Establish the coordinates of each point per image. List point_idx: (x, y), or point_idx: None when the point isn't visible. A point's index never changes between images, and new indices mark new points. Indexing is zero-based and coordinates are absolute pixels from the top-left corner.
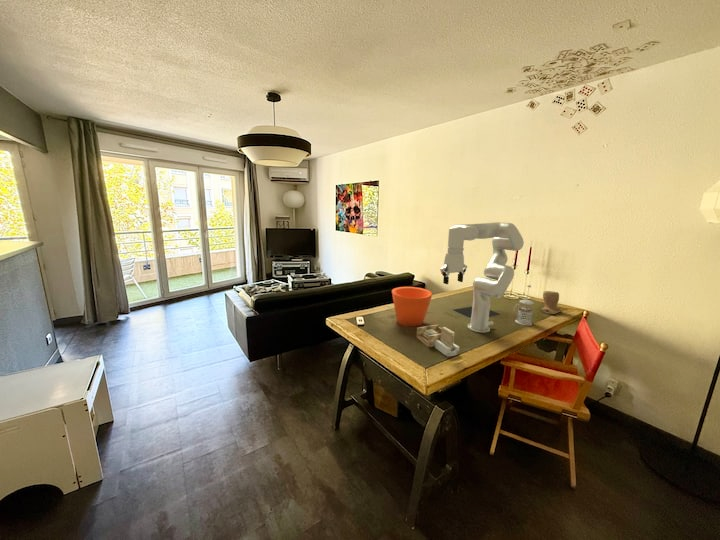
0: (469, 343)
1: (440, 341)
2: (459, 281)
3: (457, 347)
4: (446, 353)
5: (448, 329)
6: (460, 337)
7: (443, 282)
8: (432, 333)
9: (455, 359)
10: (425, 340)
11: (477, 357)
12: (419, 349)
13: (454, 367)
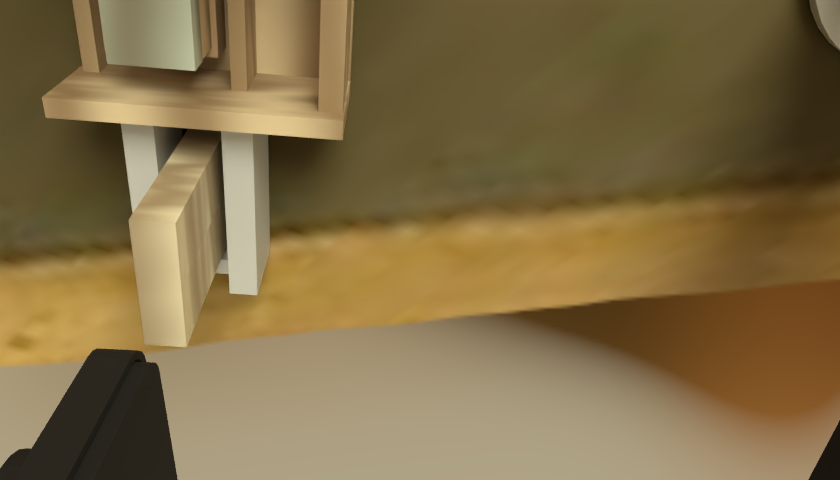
0: (521, 145)
1: (156, 168)
2: (829, 454)
3: (237, 292)
4: None
5: (171, 280)
6: (554, 22)
7: (92, 361)
8: (129, 57)
9: None
10: (76, 16)
11: (389, 305)
12: (6, 40)
13: None
